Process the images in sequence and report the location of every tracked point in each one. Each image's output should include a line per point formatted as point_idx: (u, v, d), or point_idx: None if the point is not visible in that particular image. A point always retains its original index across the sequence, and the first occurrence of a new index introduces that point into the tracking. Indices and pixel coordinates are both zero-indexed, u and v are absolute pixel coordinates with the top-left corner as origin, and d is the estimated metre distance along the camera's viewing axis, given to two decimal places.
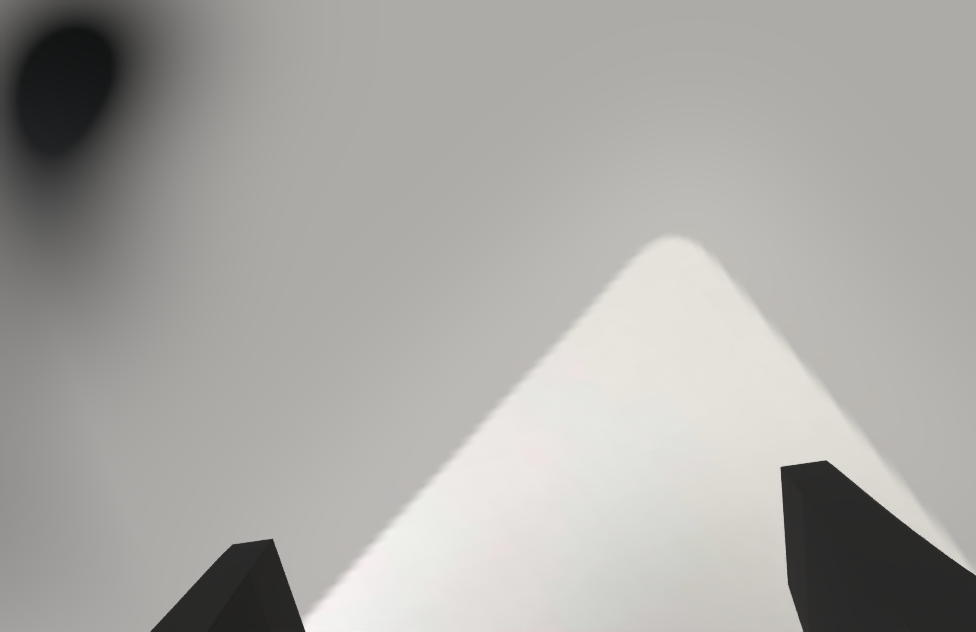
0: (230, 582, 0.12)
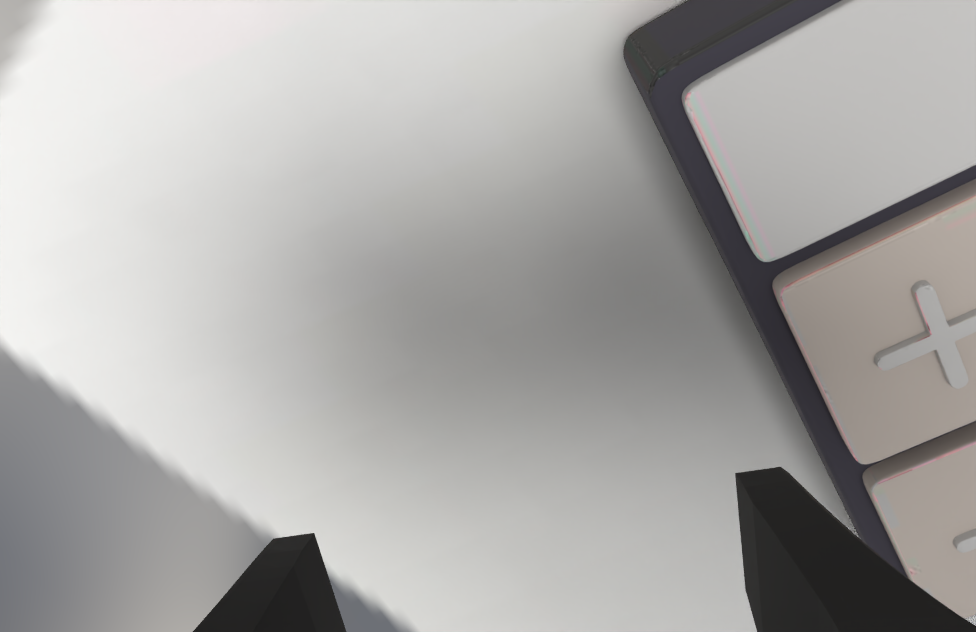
0: (275, 575, 0.12)
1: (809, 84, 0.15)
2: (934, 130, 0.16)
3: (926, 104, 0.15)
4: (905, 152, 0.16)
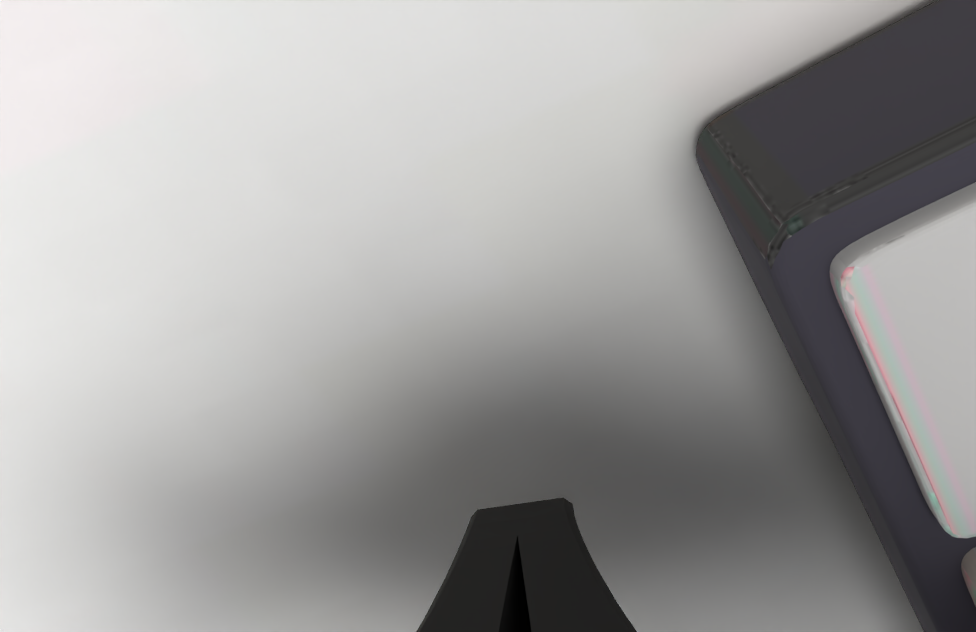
0: (500, 544, 0.11)
1: None
2: None
3: None
4: None
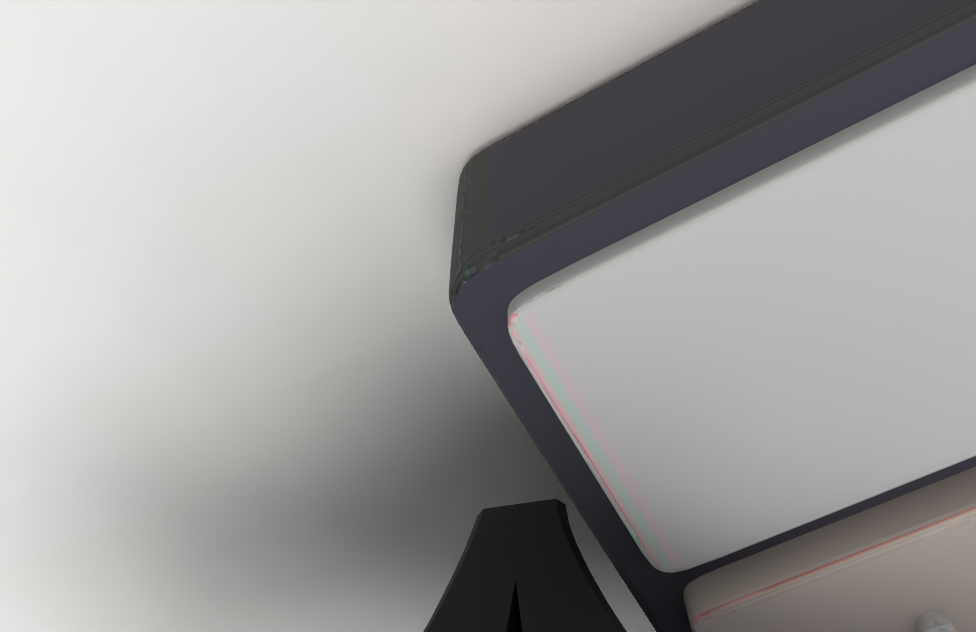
0: (507, 543, 0.11)
1: (733, 301, 0.08)
2: (960, 381, 0.09)
3: (947, 339, 0.08)
4: (908, 412, 0.09)
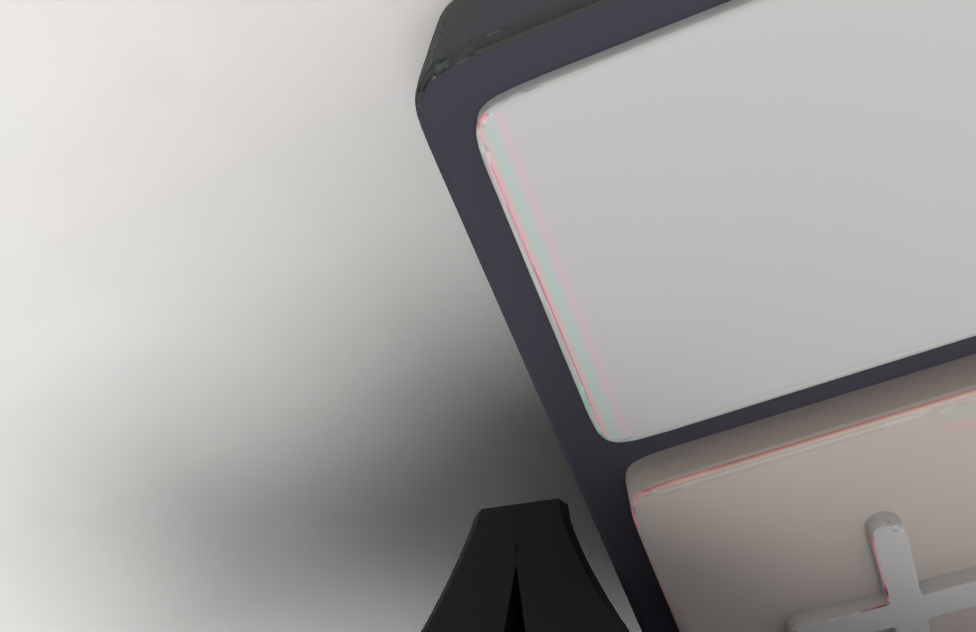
0: (505, 543, 0.11)
1: (722, 131, 0.08)
2: (949, 252, 0.08)
3: (942, 201, 0.08)
4: (890, 284, 0.08)
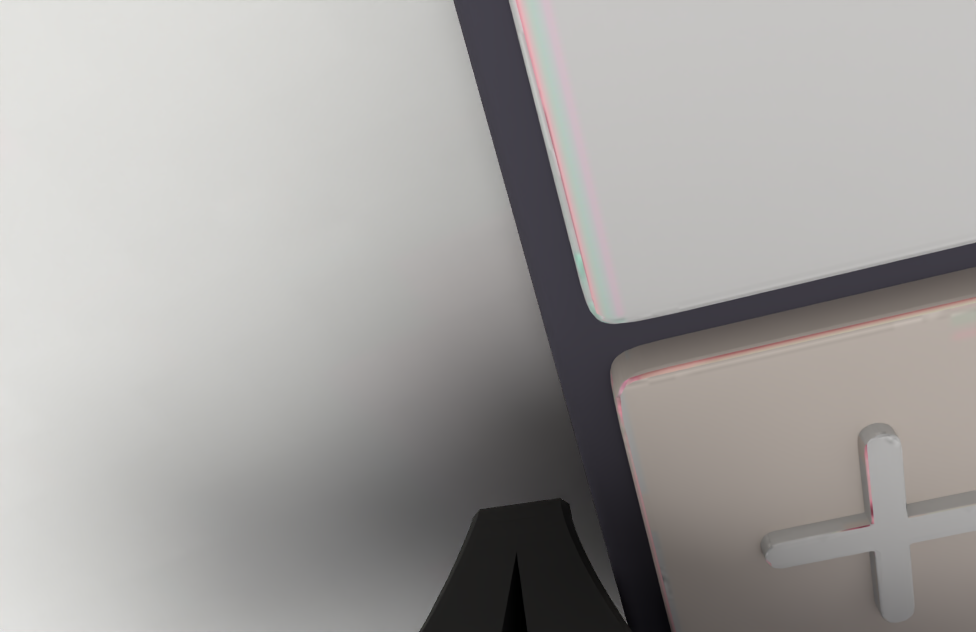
0: (503, 544, 0.11)
1: None
2: None
3: None
4: (916, 168, 0.08)
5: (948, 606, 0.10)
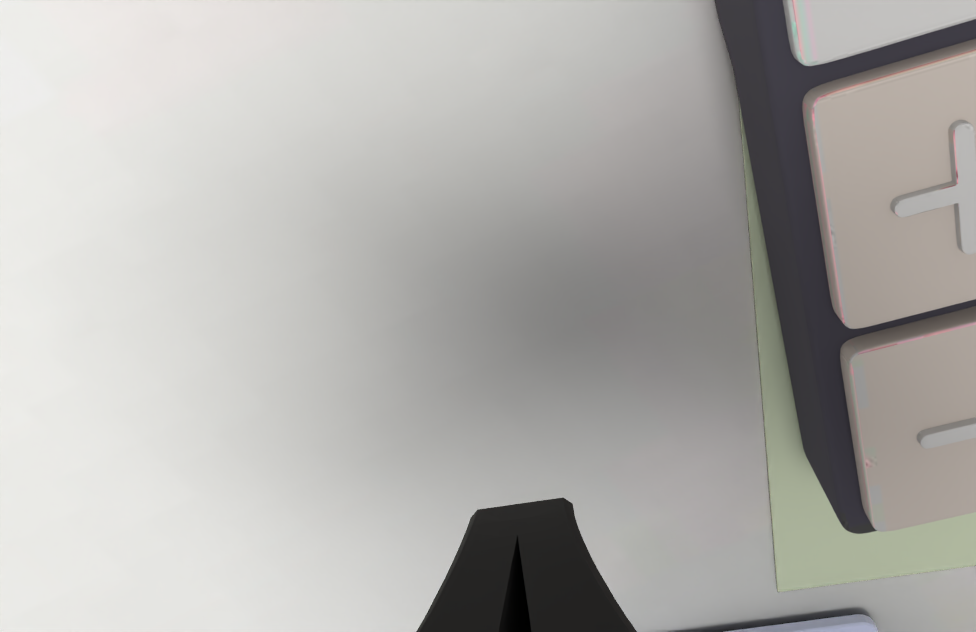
0: (500, 544, 0.11)
1: None
2: None
3: None
4: None
5: None
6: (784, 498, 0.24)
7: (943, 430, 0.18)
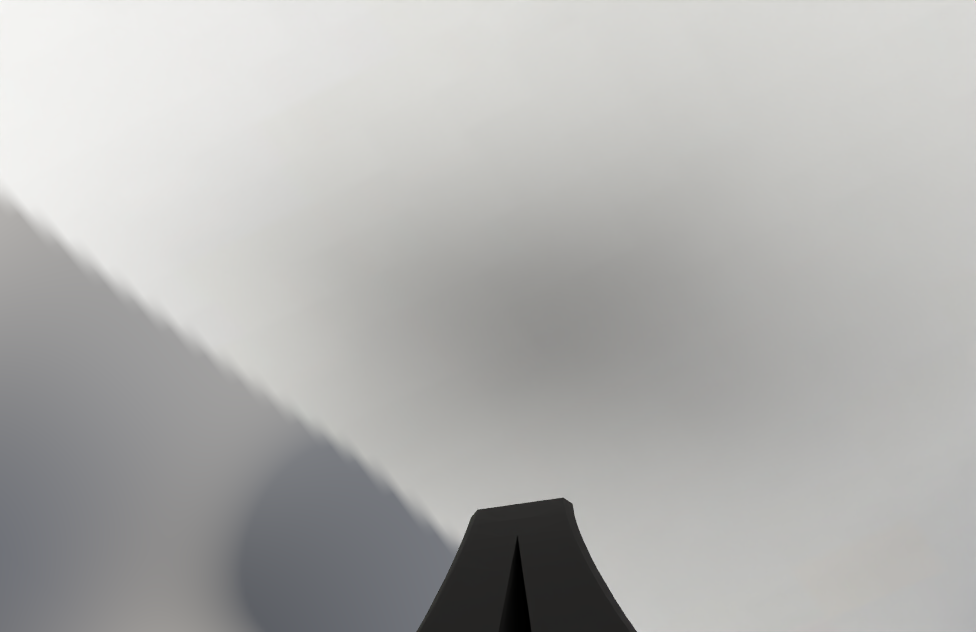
0: (500, 544, 0.11)
1: None
2: None
3: None
4: None
5: None
6: None
7: None
